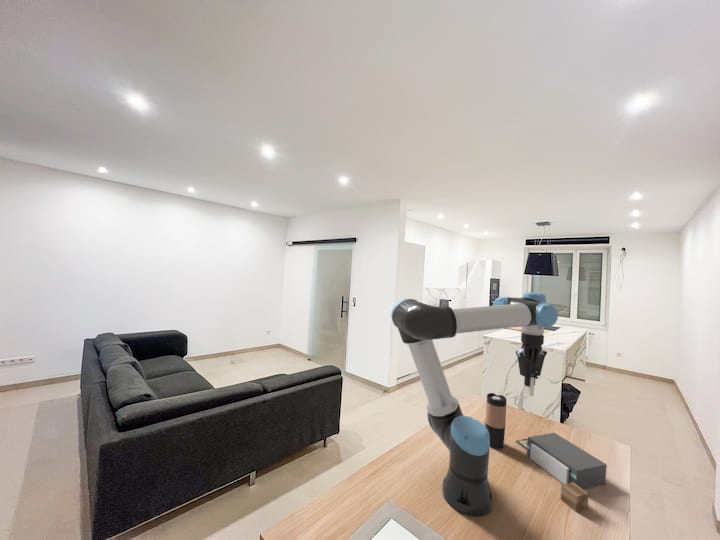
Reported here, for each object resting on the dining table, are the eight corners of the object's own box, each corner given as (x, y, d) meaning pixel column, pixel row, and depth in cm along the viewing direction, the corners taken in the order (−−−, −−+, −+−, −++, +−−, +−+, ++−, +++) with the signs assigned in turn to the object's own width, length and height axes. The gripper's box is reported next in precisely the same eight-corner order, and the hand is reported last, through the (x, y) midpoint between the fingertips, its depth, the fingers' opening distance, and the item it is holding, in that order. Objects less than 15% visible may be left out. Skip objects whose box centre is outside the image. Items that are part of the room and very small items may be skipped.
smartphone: (546, 466, 114) (546, 463, 114) (516, 442, 129) (516, 440, 129) (563, 463, 116) (563, 460, 116) (531, 440, 131) (531, 437, 131)
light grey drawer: (565, 485, 103) (566, 469, 103) (530, 458, 117) (530, 443, 117) (593, 479, 107) (594, 463, 107) (555, 453, 121) (556, 439, 121)
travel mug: (492, 450, 122) (495, 401, 121) (480, 439, 129) (482, 393, 129) (508, 448, 124) (511, 400, 123) (495, 437, 131) (497, 392, 131)
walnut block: (575, 511, 92) (576, 496, 92) (560, 499, 97) (561, 484, 97) (587, 508, 94) (588, 493, 94) (572, 496, 99) (573, 482, 99)
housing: (573, 491, 101) (575, 471, 101) (525, 454, 120) (526, 437, 120) (605, 483, 105) (606, 464, 105) (553, 449, 124) (554, 432, 124)
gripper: (527, 336, 109) (523, 400, 110) (554, 334, 113) (550, 396, 114) (511, 331, 116) (507, 391, 117) (537, 330, 120) (534, 388, 121)
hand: (529, 394), depth 115 cm, fingers closed
